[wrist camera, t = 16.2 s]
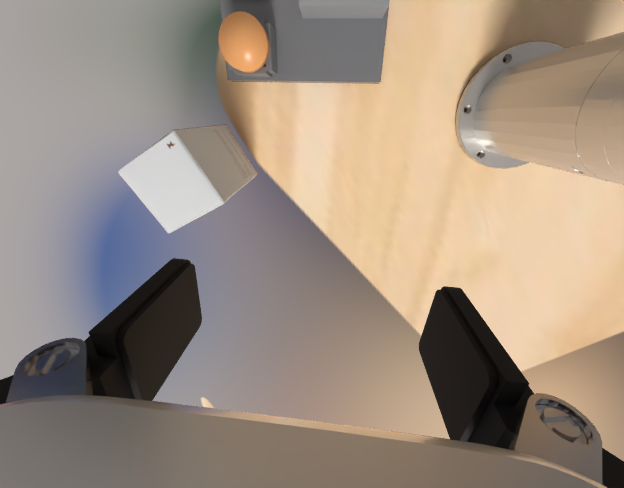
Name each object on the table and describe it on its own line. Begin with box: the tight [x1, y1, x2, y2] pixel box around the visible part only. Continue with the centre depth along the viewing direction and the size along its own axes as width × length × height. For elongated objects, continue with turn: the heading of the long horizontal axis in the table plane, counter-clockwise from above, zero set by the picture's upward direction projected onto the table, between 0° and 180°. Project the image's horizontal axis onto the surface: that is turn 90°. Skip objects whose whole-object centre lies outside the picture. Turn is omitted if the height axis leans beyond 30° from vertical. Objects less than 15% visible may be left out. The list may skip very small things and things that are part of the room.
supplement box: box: [118, 125, 257, 233], centre depth 30 cm, size 7×7×13 cm
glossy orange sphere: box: [218, 11, 270, 73], centre depth 27 cm, size 4×4×4 cm
